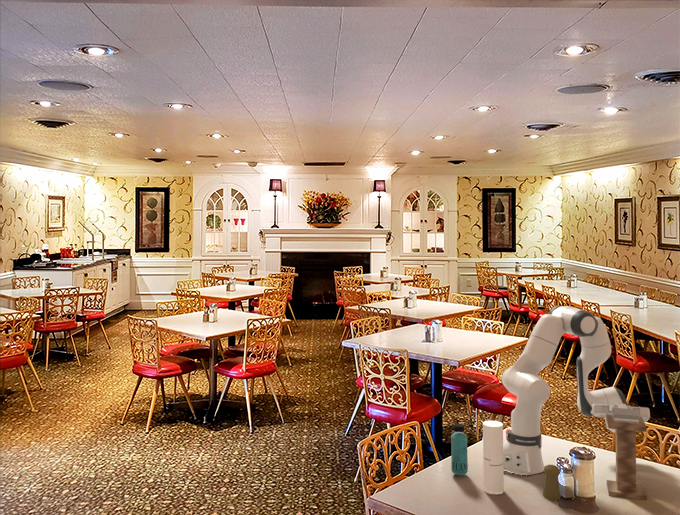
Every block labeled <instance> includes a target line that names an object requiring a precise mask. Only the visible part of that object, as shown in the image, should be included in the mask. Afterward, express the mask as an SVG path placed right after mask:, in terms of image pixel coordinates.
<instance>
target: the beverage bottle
mask: <svg viewBox="0 0 680 515" xmlns="http://www.w3.org/2000/svg"><path fill="white" fill-rule="evenodd" d="M453 431H454V432H453V433H452V434H451V436H450V439H451V440H450V441H451V443H450V444H451V450H450V451H451V456H450V457H451V460H450V462H451V465H450V466H451V467H450V468H451V472H452V474H454V475H457V476H458V475H459V476H463V475H467V473H468V472H469V470H468V469H469V468H468V467H469V464H468V445H469V444H468V436H467V434H465V433H464V432H465V424H462V423H455V424H454V425H453Z"/></svg>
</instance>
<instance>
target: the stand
mask: <svg viewBox="0 0 680 515" xmlns="http://www.w3.org/2000/svg"><path fill="white" fill-rule="evenodd" d="M606 421H607V425H608V427H607V428H609V429H616V433H615V480H610V479H606V489H607V493H608V496H609V497H611V496H612V497H620V498H626V499H636V500H641V501H642V500H643V501H647V500H648V499H647V498H648V495H647V492H646V490H645V487H644V484H643V483H637V432H643V433H644V432H645V433H647V430H648V428H647V426H646V424H645V423H646V422H644V421H643V419H642V417H639V424H629V423H617V422H614V421H613V417H612V415H609V414H606ZM609 429H608V430H609Z"/></svg>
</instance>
